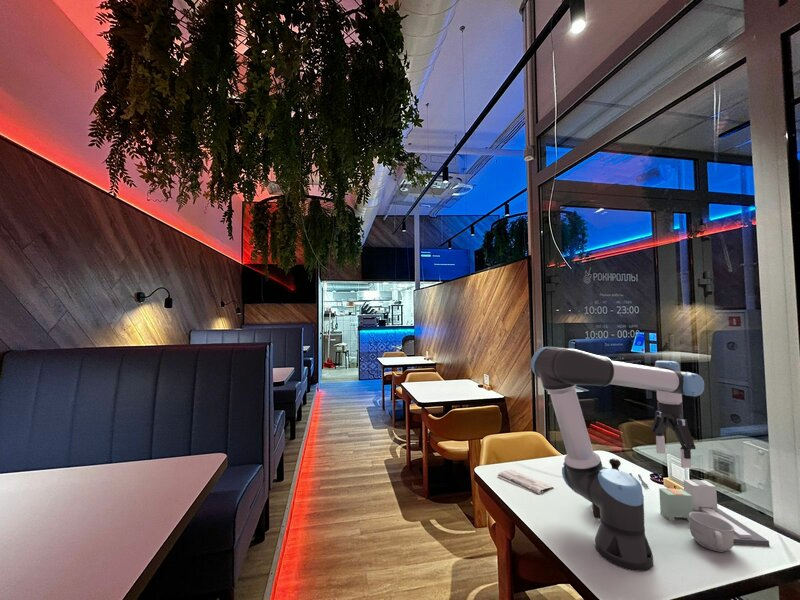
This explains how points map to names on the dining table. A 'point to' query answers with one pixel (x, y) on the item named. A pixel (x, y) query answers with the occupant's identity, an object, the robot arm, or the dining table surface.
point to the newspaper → (523, 481)
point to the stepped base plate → (719, 511)
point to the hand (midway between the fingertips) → (673, 460)
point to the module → (675, 503)
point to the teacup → (711, 531)
